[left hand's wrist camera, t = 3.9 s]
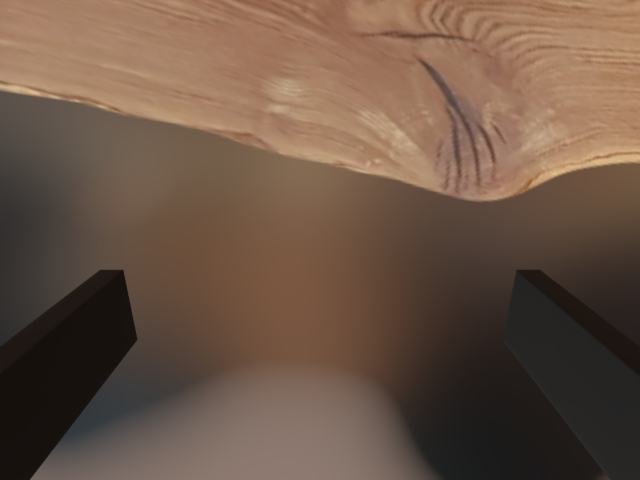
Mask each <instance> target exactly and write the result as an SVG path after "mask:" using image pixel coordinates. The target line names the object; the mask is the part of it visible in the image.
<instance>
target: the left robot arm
mask: <svg viewBox="0 0 640 480" xmlns="http://www.w3.org/2000/svg"><path fill="white" fill-rule="evenodd" d="M136 341H137V336H136V331H135V326H134V321H133V316H132V311H131V306H130V301H129V296H128V291H127V286H126V281H125V276H124V271H123V270H99V271H98V272H97V273H96V274H94V275H93V276H92V277H90V278H89V279H88V280H86V281H85V282H84V283H83V284H81V285H80V286H79V287H77V288H76V289H75V290H73V291H72V292H71V293H69V294H68V295H67V296H65V297H64V298H63V299H62V300H60V301H59V302H58V303H56V304H55V305H54V306H52V307H51V308H50V309H49V310H47V311H46V312H45V313H43V314H42V315H41V316H39V317H38V318H37V319H35V320H34V321H33V322H32V323H30V324H29V325H28V326H26V327H25V328H24V329H22V330H21V331H20V332H18V333H17V334H16V335H15V336H13V337H12V338H11V339H9V340H8V341H7V342H5V343H4V344H3V345H1V346H0V480H30V479H31V477H32V476H33V475H34V474H35V472H36V471H37V470H38V468H39V467H40V466H41V464H42V463H43V462H44V461H45V459H46V458H47V457H48V455H49V454H50V453H51V452H52V450H53V449H54V448H55V446H56V445H57V444H58V442H59V441H60V440H61V438H62V437H63V436H64V435H65V433H66V432H67V431H68V429H69V428H70V427H71V425H72V424H73V423H74V422H75V420H76V419H77V418H78V416H79V415H80V414H81V412H82V411H83V410H84V409H85V407H86V406H87V405H88V403H89V402H90V401H91V399H92V398H93V397H94V395H95V394H96V393H97V392H98V390H99V389H100V388H101V386H102V385H103V384H104V382H105V381H106V380H107V379H108V377H109V376H110V375H111V373H112V372H113V371H114V369H115V368H116V367H117V366H118V364H119V363H120V362H121V360H122V359H123V358H124V356H125V355H126V354H127V352H128V351H129V350H130V349H131V347H132V346H133V345H134V343H135V342H136ZM503 341H504V342H505V343H506V345H507V346H508V347H509V349H510V350H511V351H512V352H513V354H514V355H515V356H516V358H517V359H518V360H519V362H520V363H521V364H522V366H523V367H524V368H525V369H526V371H527V372H528V373H529V375H530V376H531V377H532V378H533V380H534V381H535V382H536V384H537V385H538V386H539V388H540V389H541V390H542V392H543V393H544V394H545V395H546V397H547V398H548V399H549V401H550V402H551V403H552V405H553V406H554V407H555V409H556V410H557V411H558V412H559V414H560V415H561V416H562V418H563V419H564V420H565V422H566V423H567V424H568V425H569V427H570V428H571V429H572V431H573V432H574V433H575V435H576V436H577V437H578V438H579V440H580V441H581V442H582V444H583V445H584V446H585V448H586V449H587V450H588V451H589V453H590V454H591V455H592V457H593V458H594V459H595V461H596V462H597V463H598V465H599V466H600V467H601V468H602V470H603V471H604V472H605V474H606V475H607V476H608V478H609V479H610V480H640V346H639V345H637V344H636V343H635V342H633V341H632V340H631V339H629V338H628V337H627V336H625V335H624V334H623V333H622V332H620V331H619V330H618V329H616V328H615V327H614V326H612V325H611V324H610V323H608V322H607V321H606V320H605V319H603V318H602V317H601V316H599V315H598V314H597V313H595V312H594V311H593V310H591V309H590V308H589V307H588V306H586V305H585V304H584V303H582V302H581V301H580V300H578V299H577V298H576V297H575V296H573V295H572V294H571V293H569V292H568V291H567V290H565V289H564V288H563V287H561V286H560V285H559V284H557V283H556V282H555V281H554V280H552V279H551V278H550V277H548V276H547V275H546V274H544V273H543V272H542V271H541V270H517V271H516V276H515V281H514V286H513V291H512V296H511V301H510V306H509V311H508V316H507V321H506V326H505V331H504V336H503Z"/></svg>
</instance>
